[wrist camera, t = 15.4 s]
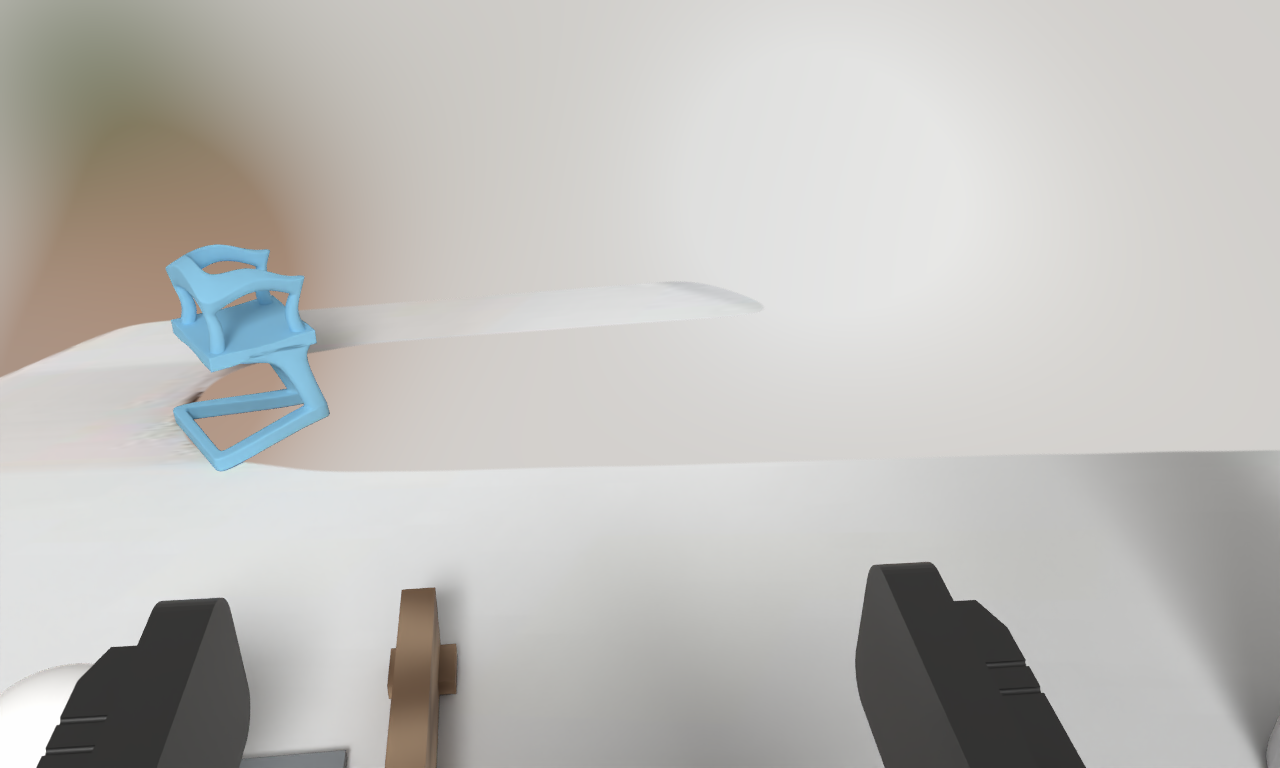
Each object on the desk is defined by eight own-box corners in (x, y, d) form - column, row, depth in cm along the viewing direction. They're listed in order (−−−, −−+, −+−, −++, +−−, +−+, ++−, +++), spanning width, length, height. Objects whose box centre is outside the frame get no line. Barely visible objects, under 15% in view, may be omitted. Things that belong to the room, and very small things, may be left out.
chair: (347, 430, 69) (326, 255, 63) (217, 473, 64) (182, 288, 58) (296, 383, 74) (272, 217, 68) (173, 420, 69) (136, 245, 64)
